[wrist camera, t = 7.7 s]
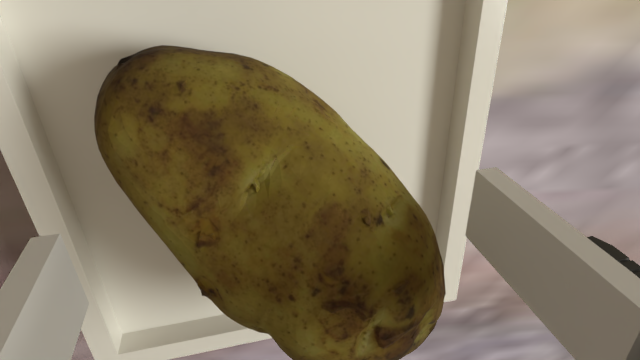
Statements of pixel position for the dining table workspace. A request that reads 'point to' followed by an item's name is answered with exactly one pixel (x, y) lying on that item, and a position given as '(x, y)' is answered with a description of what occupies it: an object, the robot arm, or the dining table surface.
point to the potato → (271, 203)
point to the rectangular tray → (266, 46)
